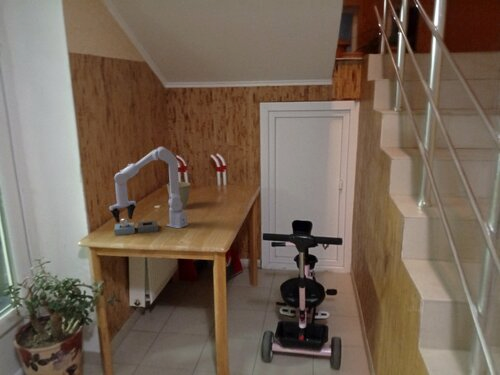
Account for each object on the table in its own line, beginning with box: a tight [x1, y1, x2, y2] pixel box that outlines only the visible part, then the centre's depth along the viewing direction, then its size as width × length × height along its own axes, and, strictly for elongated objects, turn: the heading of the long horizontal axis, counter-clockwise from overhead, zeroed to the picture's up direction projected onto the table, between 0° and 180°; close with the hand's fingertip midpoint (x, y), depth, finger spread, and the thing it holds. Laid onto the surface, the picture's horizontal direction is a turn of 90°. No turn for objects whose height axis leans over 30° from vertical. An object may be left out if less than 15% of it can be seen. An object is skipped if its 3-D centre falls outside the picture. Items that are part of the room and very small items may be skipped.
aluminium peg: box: [119, 217, 129, 228], centre depth 209 cm, size 4×4×7 cm
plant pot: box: [166, 181, 191, 210], centre depth 253 cm, size 15×15×16 cm
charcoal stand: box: [137, 220, 159, 234], centre depth 213 cm, size 10×10×3 cm
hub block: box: [113, 222, 136, 236], centre depth 209 cm, size 10×10×3 cm
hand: (124, 220), depth 208 cm, fingers open, 7 cm apart
